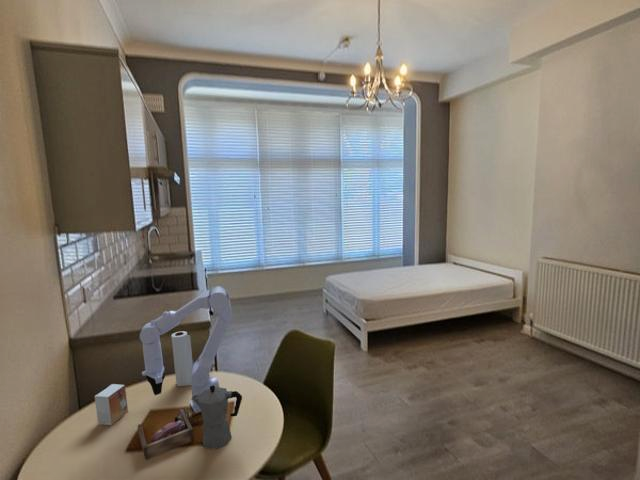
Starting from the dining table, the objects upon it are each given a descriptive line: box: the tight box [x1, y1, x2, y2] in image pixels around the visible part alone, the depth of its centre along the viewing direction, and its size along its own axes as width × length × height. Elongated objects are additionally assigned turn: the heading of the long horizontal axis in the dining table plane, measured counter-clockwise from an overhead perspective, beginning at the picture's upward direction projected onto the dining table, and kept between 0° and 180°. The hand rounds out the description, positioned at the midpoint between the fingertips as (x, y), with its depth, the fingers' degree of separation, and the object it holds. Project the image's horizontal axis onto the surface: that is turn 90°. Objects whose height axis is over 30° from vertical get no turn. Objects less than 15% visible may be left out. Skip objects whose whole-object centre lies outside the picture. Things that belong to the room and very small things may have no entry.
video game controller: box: [150, 419, 186, 443], centre depth 111 cm, size 10×5×7 cm, turn 134°
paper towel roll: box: [171, 330, 194, 387], centre depth 143 cm, size 7×6×21 cm
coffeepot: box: [191, 385, 243, 450], centre depth 109 cm, size 15×9×18 cm, turn 94°
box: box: [137, 408, 195, 461], centre depth 112 cm, size 14×13×4 cm
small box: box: [94, 383, 129, 426], centre depth 123 cm, size 8×6×10 cm
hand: (157, 393), depth 124 cm, fingers closed
